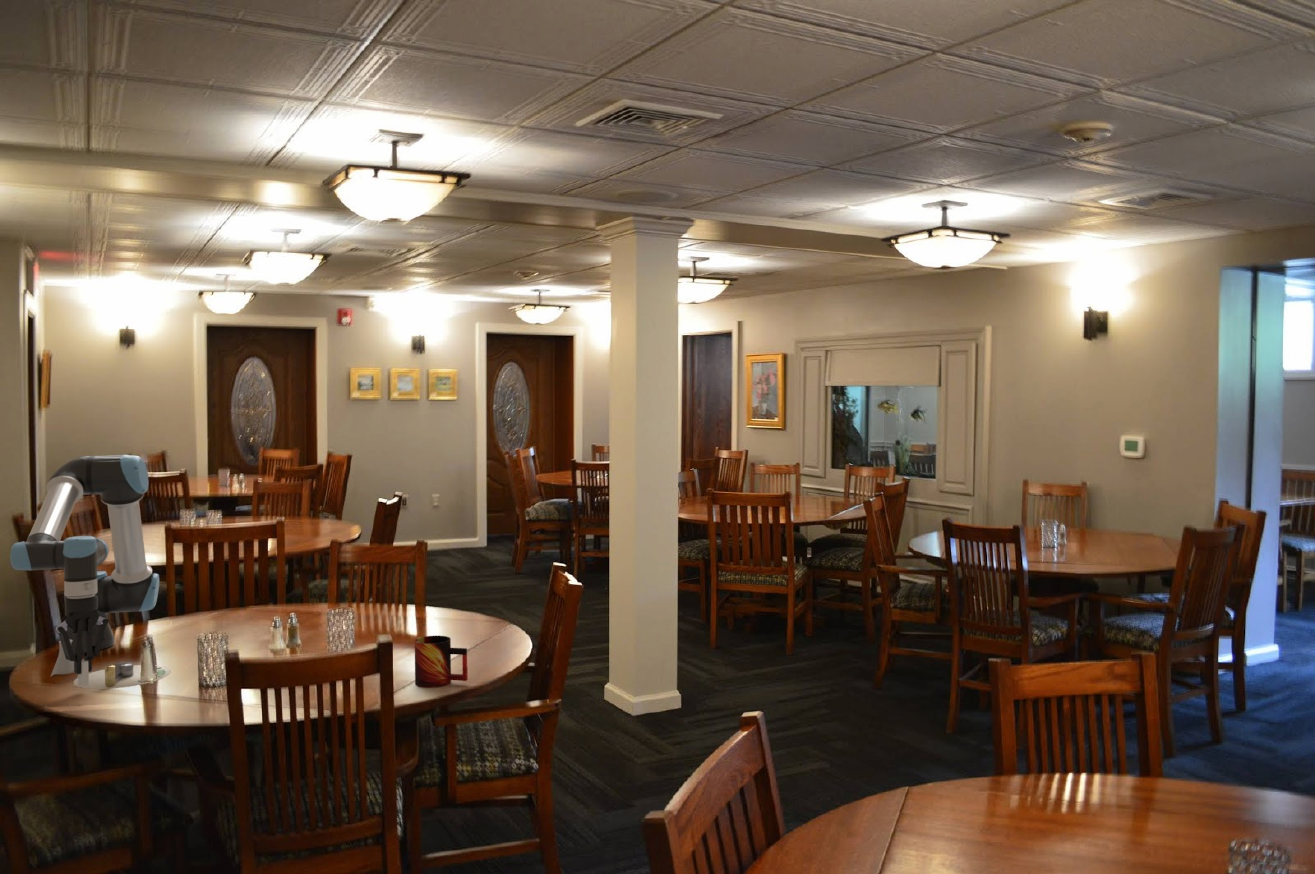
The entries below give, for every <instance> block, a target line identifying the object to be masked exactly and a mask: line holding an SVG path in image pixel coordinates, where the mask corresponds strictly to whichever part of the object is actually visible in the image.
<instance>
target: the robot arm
mask: <svg viewBox="0 0 1315 874" xmlns="http://www.w3.org/2000/svg"><path fill="white" fill-rule="evenodd" d="M148 490H149V474H148V469H147V466H146V463H145V461H144V459H143V457H140V456H139V455H135V454H134V455H129V454H121V455H118V454H117V455H115V454H114V455H83V456H79V457H76V458H73V459H71V460H70V461H68V462H66V463H64V464H63V465H61V466H60V467H58V469H57V470H55V472H54V473H53V474H52V475H50V478H49V479H48V481H47V484H46V487H45V491H46V493H47V494H46V496H45V498H44V501H43V502H42V505H41V507H40V509H39V511H38V514H37V516H36V519H35V521H34V523H33V526H32V528H31V531H30V533H29V535H28V537H27V539H26V541H20V542H19V541H18V542H15V543H13V544H12V546H11V549H10V553H9V554H10V555H9V560H10V564H11V567H12V568H13V569H14V570H15V571H39V570H58V569H59V570H60V569H61V570H62V569H63V573H64V574H63V575H64V582H63V583H64V584H63V586H64V592H63V594H64V617H63V622H62V623H60V624H58V625H55V626H54V627H53V629H54V630H55V632H56V633H57V634H58V637H59V641H61V644H62V648H63V651H64V654H65V658H66V659H67V660H70V661H73V662H74V674H75V675H77V678H78V685H79V686H82V687H84V686H88V685H89V673H92V670H93V665H92V664H93V662H92V661H93V660H94V659H95V657H98V656H99V655H100V653H101V650H103V649H104V650H105V649H107V648H110V647H112V646H114V645H115V636H114V633H113V631H112V628H111V625H110V623H109V621H110V620H109V618H108V614H110V613H126V612H127V613H129V612H144V611H146V612H147V611H151V610H153V609H154V608H155V606H156V604H157V601H158V595H159V588H160V574H158V573H155V572H154V573H153V568H152V566H151V565H149V564H147V562H146V552H145V551H146V550H145V543H144V542H145V541H144V536H143V535H144V532H143V526H142V519H141V518H142V516H141V509H140V508H141V507H140V501H141V500H142V499H143V498H144V493H146V492H148ZM85 495H100V501H101V502H102V503H103V504H104V505H107V511H108V519H109V520H108V521H109V526H110V533H111V534H110V535H111V542H112V550H113V558H114V564H115V565H114V566H115V569H113V571H112V572H111V574H110V575H108V573H107V571H104V570H101V571H98V566H101V565H102V564H103V563H104V562H105V560H106V559H107V558H108V556H109V552H110V549H109V546H108V544H107V543H106V542H105V540H103V539H101V538H97V537H94V536H92V535H78V536H76V535H75V536H72V537H71V536H69V537H67V538H65V539H64V540H61V539H62V536H63V535H64V531H65V530H66V527H67V525H68V522H69V519H70V517H71V514H72V513H73V510H74V507H75V505H76V502H78V501H79V500H81V498H83V496H85ZM69 639H70V640H73V641H72V642H71V643H70V640H69ZM58 644H59V643H58ZM58 648H59V651H60V644H59V647H58Z"/></svg>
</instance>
